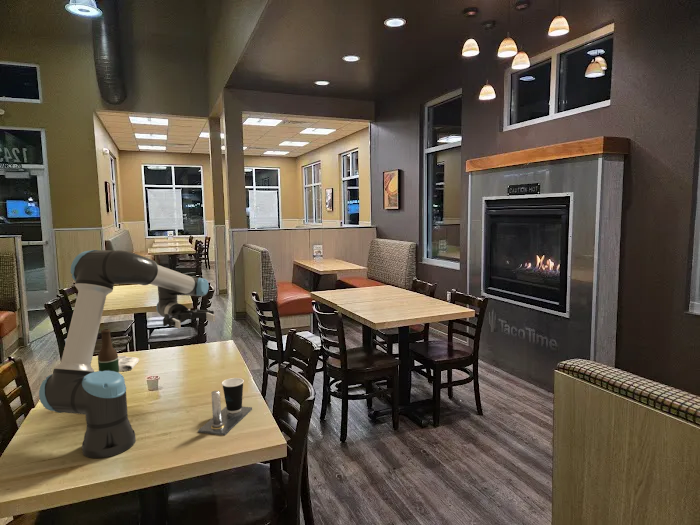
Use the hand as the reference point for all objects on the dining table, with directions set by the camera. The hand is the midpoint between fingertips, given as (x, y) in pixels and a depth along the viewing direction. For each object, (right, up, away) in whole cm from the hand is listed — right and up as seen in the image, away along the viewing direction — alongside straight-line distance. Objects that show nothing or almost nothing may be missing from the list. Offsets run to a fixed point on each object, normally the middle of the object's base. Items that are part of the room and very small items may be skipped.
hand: (197, 321), depth 175 cm
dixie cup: (+16, -32, -6) cm, 36 cm away
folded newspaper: (-52, -28, +45) cm, 75 cm away
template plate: (+14, -33, -12) cm, 38 cm away
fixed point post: (+13, -34, -18) cm, 41 cm away
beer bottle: (-46, -30, +25) cm, 61 cm away
